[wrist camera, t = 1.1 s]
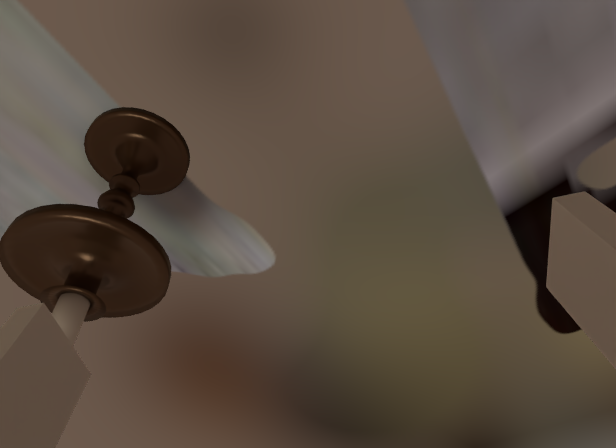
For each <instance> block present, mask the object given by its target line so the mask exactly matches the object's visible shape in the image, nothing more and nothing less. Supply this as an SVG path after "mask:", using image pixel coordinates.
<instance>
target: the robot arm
mask: <svg viewBox="0 0 616 448" xmlns="http://www.w3.org/2000/svg"><path fill="white" fill-rule="evenodd" d="M546 287H547V288H548V290H549V291H550V292H551V293H552V294H553V295H554V297H555V298H556V299H557V300H558V301H559V303H560V304H561V305H562V306H563V307H564V308H565V310H566V311H567V312H568V313H569V314H570V316H571V317H572V318H573V319H574V320H575V322H576V323H577V324H578V325H579V326H580V327H581V329H582V330H583V331H584V332H585V333H586V335H587V336H588V337H589V338H590V339H591V340H592V342H593V343H594V344H595V345H596V346H597V347H598V349H599V350H600V351H601V352H602V353H603V355H604V356H605V357H606V358H607V359H608V361H609V362H610V363H611V364H612V365H613V366H614V368H615V369H616V213H615V212H613V211H612V210H610V209H609V208H608V207H606V206H605V205H603V204H602V203H600V202H599V201H598V200H596V199H595V198H593V197H592V196H591V195H589V194H588V193H586V192H580V193H575V194H570V195H566V196H561V197H556V198H553V201H552V214H551V228H550V242H549V256H548V270H547V284H546ZM90 376H91V373H90V371H89V370H88V368H87V367H86V365H85V364H84V362H83V361H82V359H81V358H80V356H79V355H78V353H77V352H76V350H75V349H74V347H73V346H72V344H71V343H70V341H69V340H68V338H67V337H66V335H65V334H64V332H63V331H62V329H61V328H60V326H59V325H58V323H57V322H56V320H55V319H54V317H53V316H52V314H51V313H50V311H49V310H48V308H47V307H46V305H45V304H44V303H40V304H35V305H30V306H25V307H20V308H17V309H16V310H15V311H14V312H13V313H12V314H11V316H10V317H9V318H8V319H7V321H6V322H5V323H4V324H3V325H2V327H1V328H0V448H55V447H56V445H57V443H58V441H59V439H60V437H61V435H62V433H63V431H64V429H65V427H66V425H67V423H68V421H69V419H70V417H71V415H72V413H73V411H74V409H75V407H76V405H77V402H78V401H79V399H80V397H81V395H82V393H83V390H84V389H85V387H86V385H87V383H88V380H89V378H90Z"/></svg>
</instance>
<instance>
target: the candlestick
mask: <svg viewBox="0 0 616 448" xmlns="http://www.w3.org/2000/svg"><path fill="white" fill-rule="evenodd" d="M84 146H85V153H86V155H87V158H88V161H89V162H90V164H91V165H92V167H93V168H94V169H95V171H96V172H97V173H98V174H99V175H100V176H101V177H102V178H104V179H105V180H106V181H107V182H109V187H110V189H111V190H108V191H106V192H105V193H103V194H101V195H100V197H99V199H98V202H97V203H98V208H99V209H98V208H95V207H90V206H83V205H76V204H53V205H46V206H40V207H37V208H34V209H31V210H28V211H26V212H24V213H23V214H21V215H20V216H18V217H17V218H16V219H15V220H14V221H13V222H12V223H11V225H10V226H9V227H8V229H7V230H6V232H5V233H4V235H3V236H2V238H1V241H0V262H1V264H2V267H3V269H4V270H5V271H6V273H7V274H8V276H9V277H10V278H11V279H12V280H13V281H14V282H15V283H16V284H17V285H18V286H19V287H20V288H22V289H23V290H24V291H26V292H27V293H29V294H30V295H31V296H33V297H35V298H37V299H39V300H40V301H41V303H44V304H45V305H46V307H47V308H48V310H49V311H50V312H51V313H52V316H53V317H54V319H55V320H56V322H57V323H58V325H59V326H60V328H61V329H62V331H63V332H64V334H65V335H66V337H67V338H68V340H69V341H70V343H71V344H72V346H74V344H75V341H76V339H77V336H78V334H79V331H80V329H81V326H82V324H83V321H93V320H97V319H99V318H101V317H124V316H131V315H135V314H139V313H142V312H144V311H146V310H149V309H151V308H152V307H154V306H155V305H157V304H158V303H159V302H160V301H161V300H162V298H163V297H164V296H165V294H166V291H167V289H168V286H169V282H170V278H171V264H170V260H169V257H168V255H167V253H166V252H165V250H164V248H163V247H162V246H161V244H160V243H159V242H158V241H157V240H156V239H155V238H154V237H153V236H152V235H151V234H149V233H148V232H147V231H146V230H144V229H143V228H142V227H140V226H139V225H137V224H135V223H133V222H132V221H130V220H128V219H127V218H129V217H131V216H132V215H133V213H134V210H135V205H134V201H133V197H135V196H137V195H138V194H141V195H156V194H162V193H165V192H168V191H170V190H172V189H174V188H176V187H177V186H178V185H179V184H180V183H181V182H182V181H183V179H184V178H185V176H186V173H187V170H188V167H189V161H190V154H189V149H188V146H187V144H186V142H185V140H184V138H183V137H182V135H181V134H180V132H179V131H178V130H177V129H176V128H175V127H174V126H173V125H172V124H171V123H169V122H168V121H166V120H165V119H164V118H162V117H160V116H158V115H156V114H154V113H152V112H149V111H146V110H142V109H138V108H125V107H122V108H116V109H111V110H109V111H106V112H104V113H102V114H101V115H99V116H98V117H97V118H96V119H95V120H94V121H93V123H92V124H91V126H90V127H89V129H88V131H87V133H86V136H85V142H84Z"/></svg>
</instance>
